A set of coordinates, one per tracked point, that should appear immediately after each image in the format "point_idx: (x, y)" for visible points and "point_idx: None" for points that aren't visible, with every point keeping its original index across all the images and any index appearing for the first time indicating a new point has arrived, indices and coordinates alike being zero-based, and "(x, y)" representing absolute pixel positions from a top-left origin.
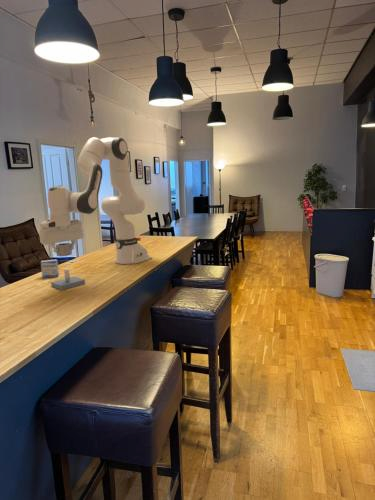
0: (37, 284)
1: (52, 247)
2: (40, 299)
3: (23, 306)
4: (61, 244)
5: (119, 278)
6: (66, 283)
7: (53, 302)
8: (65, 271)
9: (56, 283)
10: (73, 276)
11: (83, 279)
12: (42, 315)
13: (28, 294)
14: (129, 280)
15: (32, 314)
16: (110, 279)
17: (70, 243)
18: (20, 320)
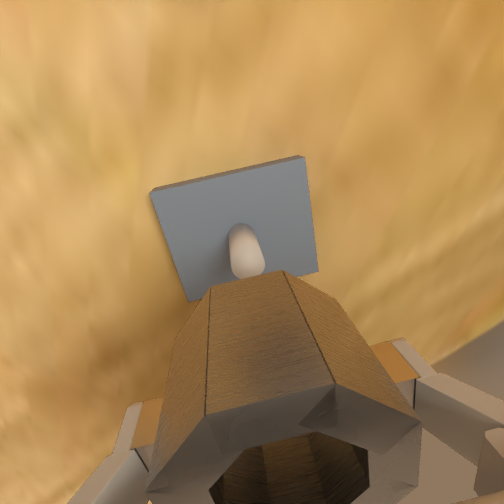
0: (69, 72)
1: (87, 499)
2: (88, 351)
3: (22, 387)
4: (278, 427)
5: (458, 283)
6: (222, 277)
7: (135, 401)
8: (235, 273)
9: (175, 243)
10: (300, 160)
11: (316, 264)
12: (93, 471)
13: (26, 254)
14: (459, 331)
15: (62, 456)
16: (425, 272)
17: (410, 484)
18: (28, 477)
